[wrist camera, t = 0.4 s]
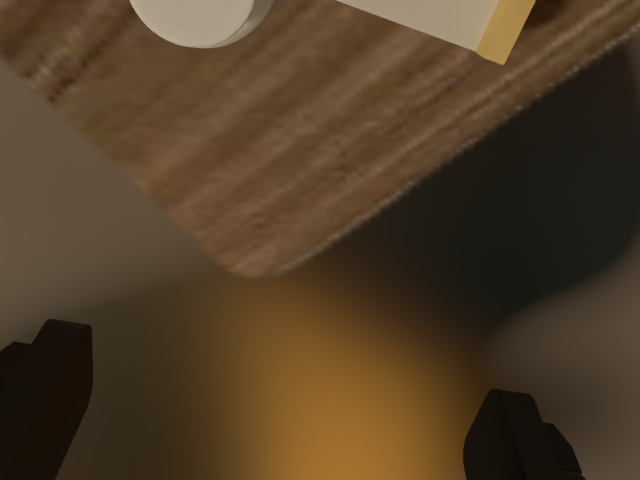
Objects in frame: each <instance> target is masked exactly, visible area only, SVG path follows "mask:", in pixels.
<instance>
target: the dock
mask: <svg viewBox="0 0 640 480" xmlns="http://www.w3.org/2000/svg"><path fill="white" fill-rule="evenodd" d="M337 1H339V2H342V3H345V4H348V5H350V6H353V7H356V8H358V9H361V10H364V11H367V12H369V13H372V14H375V15H378V16H380V17H383V18H386V19H388V20H391V21H394V22H397V23H399V24H402V25H405V26H408V27H410V28H413V29H416V30H418V31H421V32H424V33H427V34H429V35H432V36H435V37H438V38H440V39H443V40H446V41H448V42H451V43H454V44H457V45H459V46H462V47H465V48H468V49H470V50H473V51H475V52H477V53H478V54H479V55H480V56H482V57H483V58H485V59H488V60H491V61H493V62H496V63H499V64H502V65H504V64H505V62H506V60H507V58H508V56H509V54H510V52H511V50H512V48H513V46H514V43H515V41H516V39H517V37H518V35H519V33H520V31H521V29H522V27H523V25H524V23H525V21H526V19H527V17H528V15H529V13H530V11H531V9H532V7H533V5H534V3H535V1H536V0H337Z"/></svg>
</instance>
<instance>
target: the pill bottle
mask: <svg viewBox="0 0 640 480" xmlns="http://www.w3.org/2000/svg"><path fill="white" fill-rule="evenodd" d="M273 1H274V0H130V2H131V4H132V6H133V8H134V10H135V11H136V13H137V14H138V16H139V17H140V18H141V20H142V21H143V22H144V23H145V24H146V25H147V26H148V27H149V28H150V29H151V30H152V31H154V32H155V33H156V34H158V35H159V36H160V37H162V38H164V39H166V40H168V41H170V42H172V43H175V44H178V45H182V46H186V47H197V48H215V47H221V46H225V45H228V44H231V43H233V42H236V41H238V40H239V39H241V38H243V37H245V36H246V35H248V34H249V33H250V32H252V31H253V30H254V29H255V28H256V27H257V26H258V25H259V24H260V23H261V22H262V21H263V19H264V18H265V16H266V15H267V13H268V12H269V10H270V8H271V6H272V3H273Z"/></svg>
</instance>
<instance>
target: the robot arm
mask: <svg viewBox="0 0 640 480" xmlns="http://www.w3.org/2000/svg"><path fill="white" fill-rule="evenodd" d="M92 351H93V348H92V328H91V326H90V325H88V324H81V323H75V322H68V321H62V320H55V319H49V320H47V321H46V322H45V324H44V325H43V327H42V328H41V330H40V331H39V333H38V335H37V336H36V338H35V339H34V341H33V342H32V344H26V343H20V342H12V343H11V344H10V345H8V346H7V347H5V348H4V349H3V350H1V351H0V480H55V479H56V477H57V474H58V472H59V470H60V468H61V466H62V463H63V461H64V459H65V456H66V454H67V452H68V450H69V448H70V446H71V443H72V441H73V439H74V437H75V435H76V432H77V430H78V428H79V426H80V423H81V421H82V419H83V417H84V415H85V412H86V410H87V407H88V404H89V401H90V397H91V393H92V387H93V352H92ZM463 463H464V470H465V474H466V479H467V480H585V478H584V477H582V475H581V474H582V471H581V468H580V466H579V463H578V461H577V458H576V456H575V453H574V451H573V448H572V447H571V445H570V444H569V443H568V442H567V440H566V439H565V438H564V437H563V435H562V434H561V433H560V432H559V430H558V429H557V428H556V427H555V426H554V424H550V423H543V422H542V419H541V416H540V414H539V411H538V408H537V406H536V403H535V401H534V399H533V397H532V396H531V395H530V394H527V393H521V392H514V391H508V390H501V389H494V388H493V389H491V390H490V391H489V392H488V393H487V395H486V397H485V399H484V401H483V403H482V405H481V407H480V409H479V411H478V413H477V415H476V417H475V420H474V422H473V423H472V425H471V427H470V430H469V431H468V433H467V436H466V438H465V442H464V448H463Z"/></svg>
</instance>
